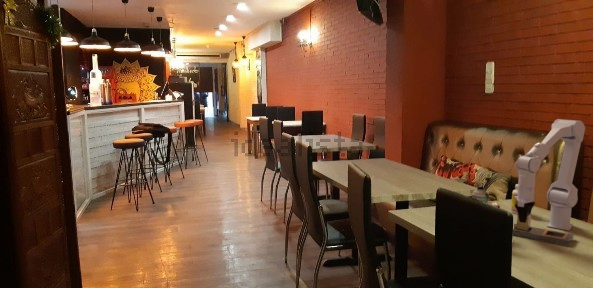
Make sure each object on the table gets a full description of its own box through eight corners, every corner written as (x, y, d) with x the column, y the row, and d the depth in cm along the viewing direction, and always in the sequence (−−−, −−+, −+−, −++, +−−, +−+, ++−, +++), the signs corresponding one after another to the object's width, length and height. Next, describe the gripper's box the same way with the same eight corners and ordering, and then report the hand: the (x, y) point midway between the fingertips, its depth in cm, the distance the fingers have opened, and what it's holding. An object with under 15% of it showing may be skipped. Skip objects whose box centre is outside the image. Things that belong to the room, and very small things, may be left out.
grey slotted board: (510, 227, 184) (511, 222, 184) (573, 239, 171) (573, 234, 170) (504, 233, 177) (505, 228, 177) (569, 246, 164) (569, 240, 163)
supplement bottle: (512, 214, 204) (514, 186, 202) (509, 210, 210) (511, 183, 208) (528, 215, 202) (530, 187, 200) (525, 211, 208) (527, 184, 206)
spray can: (484, 235, 175) (487, 184, 173) (485, 239, 170) (489, 187, 168) (469, 233, 177) (472, 183, 174) (470, 238, 172) (473, 186, 169)
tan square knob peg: (519, 226, 180) (520, 211, 179) (530, 228, 178) (531, 213, 177) (516, 228, 177) (517, 213, 176) (527, 230, 174) (528, 215, 174)
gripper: (519, 182, 183) (517, 214, 185) (510, 188, 172) (507, 223, 174) (539, 184, 179) (536, 217, 180) (530, 191, 167) (528, 226, 169)
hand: (523, 220), depth 177 cm, fingers closed on tan square knob peg, 4 cm apart
